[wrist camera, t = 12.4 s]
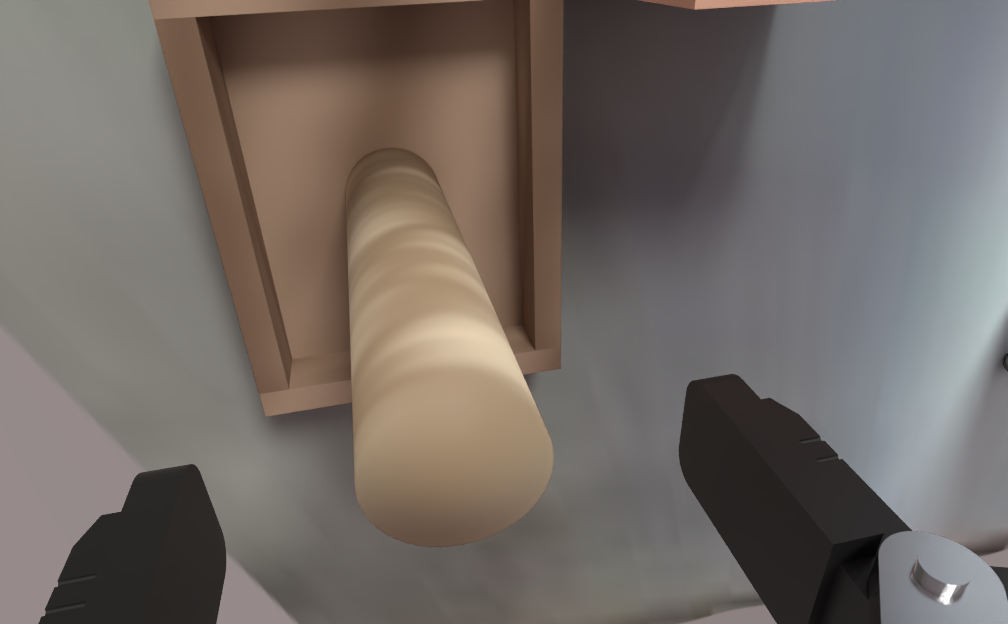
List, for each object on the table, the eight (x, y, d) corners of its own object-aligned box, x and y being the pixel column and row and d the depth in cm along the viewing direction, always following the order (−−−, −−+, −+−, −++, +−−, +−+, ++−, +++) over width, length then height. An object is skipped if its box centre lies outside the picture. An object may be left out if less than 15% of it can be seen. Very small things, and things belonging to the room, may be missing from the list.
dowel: (435, 143, 22) (554, 378, 10) (442, 231, 23) (553, 526, 11) (338, 152, 21) (339, 413, 9) (353, 242, 23) (370, 563, 11)
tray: (535, -45, 20) (563, -45, 18) (539, 329, 27) (560, 368, 25) (168, -28, 19) (141, -25, 16) (272, 370, 26) (265, 416, 23)
